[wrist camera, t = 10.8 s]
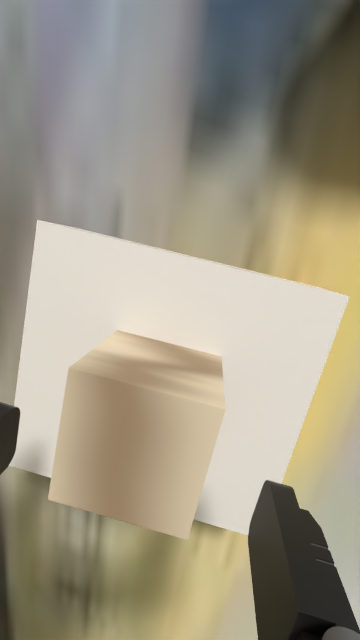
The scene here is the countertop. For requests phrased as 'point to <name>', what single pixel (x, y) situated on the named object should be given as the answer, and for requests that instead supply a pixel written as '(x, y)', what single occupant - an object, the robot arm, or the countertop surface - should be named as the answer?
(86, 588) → the countertop surface
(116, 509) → the birch block
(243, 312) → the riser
